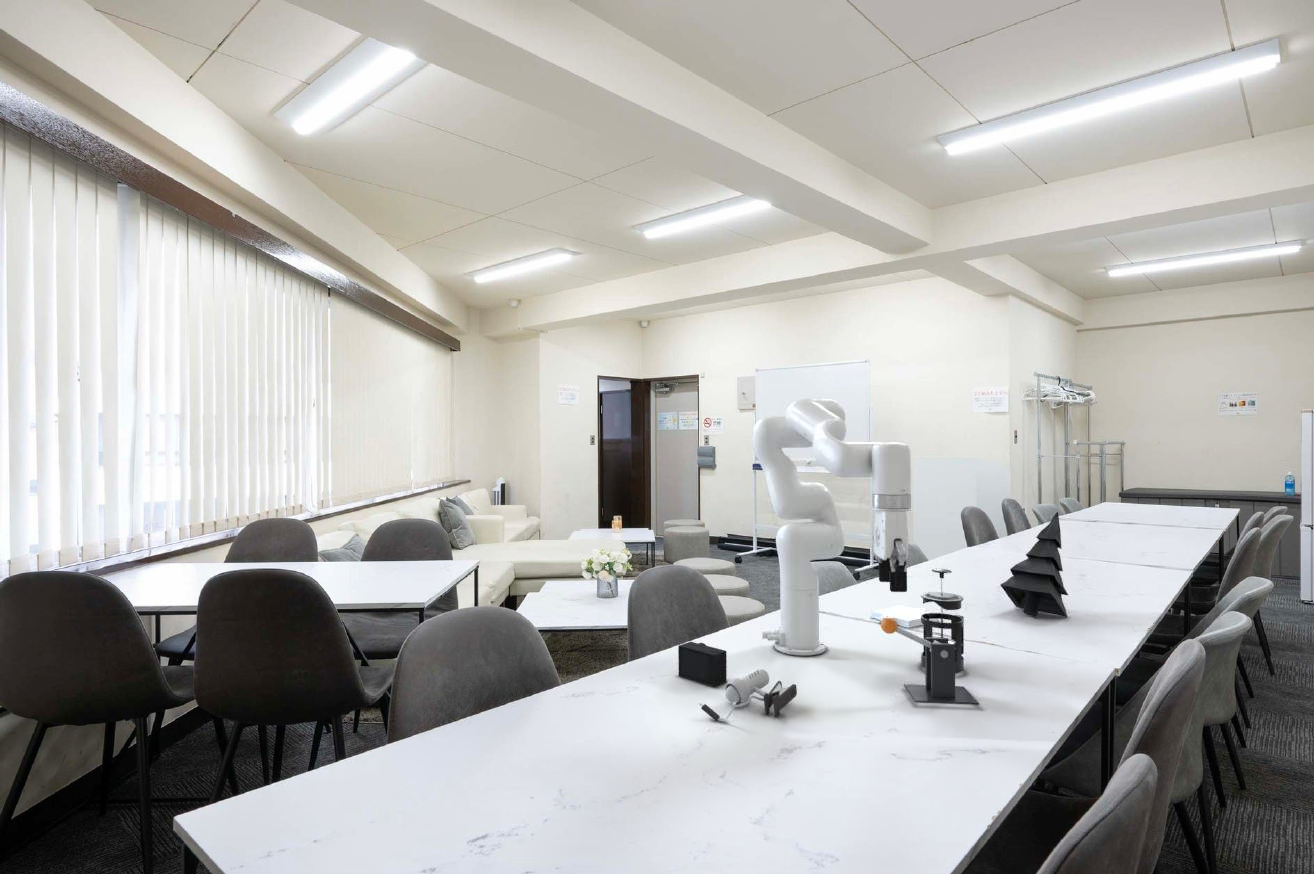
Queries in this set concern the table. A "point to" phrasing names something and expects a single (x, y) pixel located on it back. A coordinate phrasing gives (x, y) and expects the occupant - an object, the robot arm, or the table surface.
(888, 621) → the switch lever
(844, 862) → the table surface
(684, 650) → the digital camera
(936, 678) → the switch bracket
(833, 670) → the table surface
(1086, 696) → the table surface
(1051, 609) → the decorative tree
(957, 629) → the french press
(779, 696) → the clip-on lamp
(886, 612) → the mounting plate
